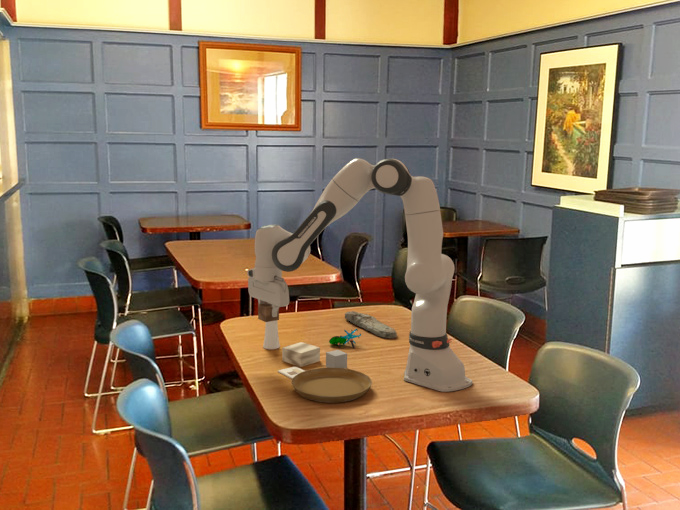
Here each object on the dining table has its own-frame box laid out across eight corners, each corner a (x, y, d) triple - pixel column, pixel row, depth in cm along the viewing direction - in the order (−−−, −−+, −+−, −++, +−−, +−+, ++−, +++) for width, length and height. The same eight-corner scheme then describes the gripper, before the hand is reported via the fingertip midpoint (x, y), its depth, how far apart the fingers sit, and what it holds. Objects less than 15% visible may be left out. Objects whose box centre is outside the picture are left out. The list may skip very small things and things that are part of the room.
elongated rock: (381, 344, 256) (402, 342, 261) (382, 331, 255) (404, 329, 260) (337, 317, 286) (358, 316, 291) (338, 305, 285) (359, 304, 290)
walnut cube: (278, 319, 225) (278, 305, 224) (266, 322, 222) (265, 307, 221) (271, 316, 229) (270, 302, 228) (258, 319, 226) (258, 304, 225)
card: (313, 376, 215) (313, 374, 215) (295, 380, 211) (295, 378, 211) (295, 367, 223) (295, 366, 223) (277, 371, 219) (277, 370, 219)
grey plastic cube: (347, 368, 224) (347, 353, 223) (334, 370, 221) (335, 356, 220) (337, 364, 228) (338, 349, 227) (325, 366, 225) (326, 352, 224)
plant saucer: (321, 413, 187) (321, 401, 187) (276, 387, 206) (276, 376, 206) (387, 395, 201) (388, 384, 201) (340, 372, 220) (340, 362, 220)
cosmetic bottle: (271, 350, 241) (272, 290, 237) (259, 347, 245) (259, 287, 241) (283, 346, 246) (283, 287, 242) (271, 343, 249) (271, 285, 246)
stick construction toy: (360, 336, 253) (358, 324, 247) (365, 351, 248) (363, 338, 242) (329, 345, 252) (326, 333, 247) (334, 360, 247) (331, 348, 242)
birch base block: (319, 361, 231) (319, 347, 230) (300, 367, 224) (301, 353, 223) (301, 355, 237) (301, 341, 236) (282, 361, 230) (282, 347, 229)
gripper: (294, 277, 217) (294, 319, 219) (260, 268, 233) (261, 307, 235) (277, 280, 213) (277, 322, 215) (244, 270, 229) (245, 310, 231)
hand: (268, 314), depth 225 cm, fingers closed on walnut cube, 5 cm apart
